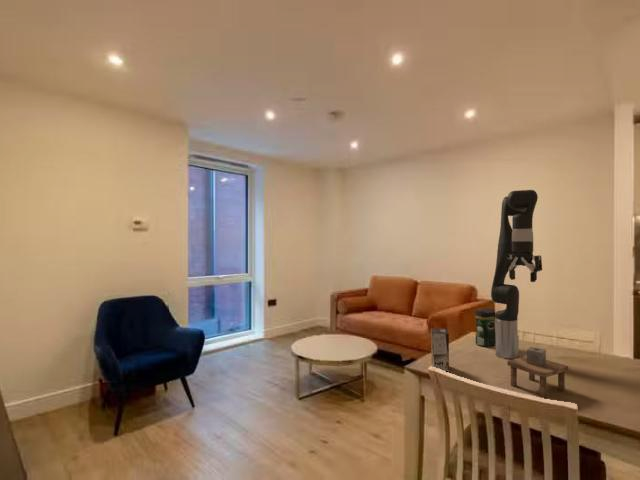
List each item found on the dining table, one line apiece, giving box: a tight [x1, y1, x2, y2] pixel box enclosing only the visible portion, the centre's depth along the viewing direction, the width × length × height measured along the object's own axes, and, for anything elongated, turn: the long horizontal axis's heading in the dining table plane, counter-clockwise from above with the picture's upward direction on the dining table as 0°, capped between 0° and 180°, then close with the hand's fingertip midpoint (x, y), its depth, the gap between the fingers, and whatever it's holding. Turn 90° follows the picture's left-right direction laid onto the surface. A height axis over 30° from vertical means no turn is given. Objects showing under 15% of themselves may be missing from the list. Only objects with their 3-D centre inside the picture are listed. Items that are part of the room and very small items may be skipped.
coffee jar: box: [474, 307, 496, 348], centre depth 186 cm, size 10×8×19 cm
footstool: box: [506, 355, 569, 399], centre depth 135 cm, size 14×14×9 cm
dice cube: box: [526, 346, 547, 367], centre depth 135 cm, size 5×5×5 cm
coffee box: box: [430, 327, 450, 373], centre depth 156 cm, size 9×6×16 cm
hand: (522, 280), depth 146 cm, fingers open, 8 cm apart
